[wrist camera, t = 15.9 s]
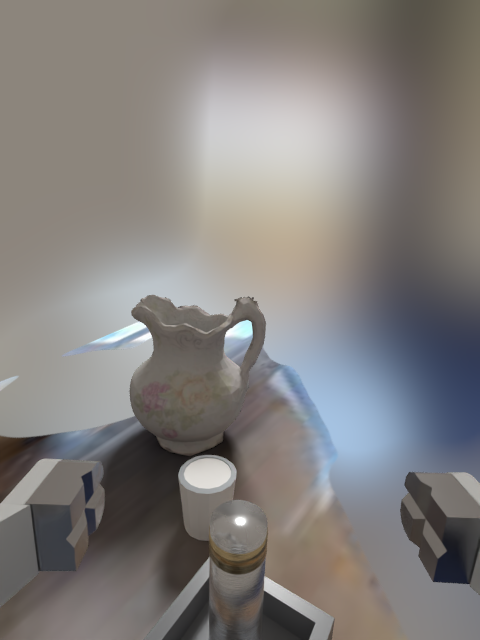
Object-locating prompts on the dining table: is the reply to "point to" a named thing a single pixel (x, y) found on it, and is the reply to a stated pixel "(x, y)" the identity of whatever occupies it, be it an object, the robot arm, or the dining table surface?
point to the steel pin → (237, 571)
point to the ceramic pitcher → (192, 373)
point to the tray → (277, 619)
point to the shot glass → (204, 491)
